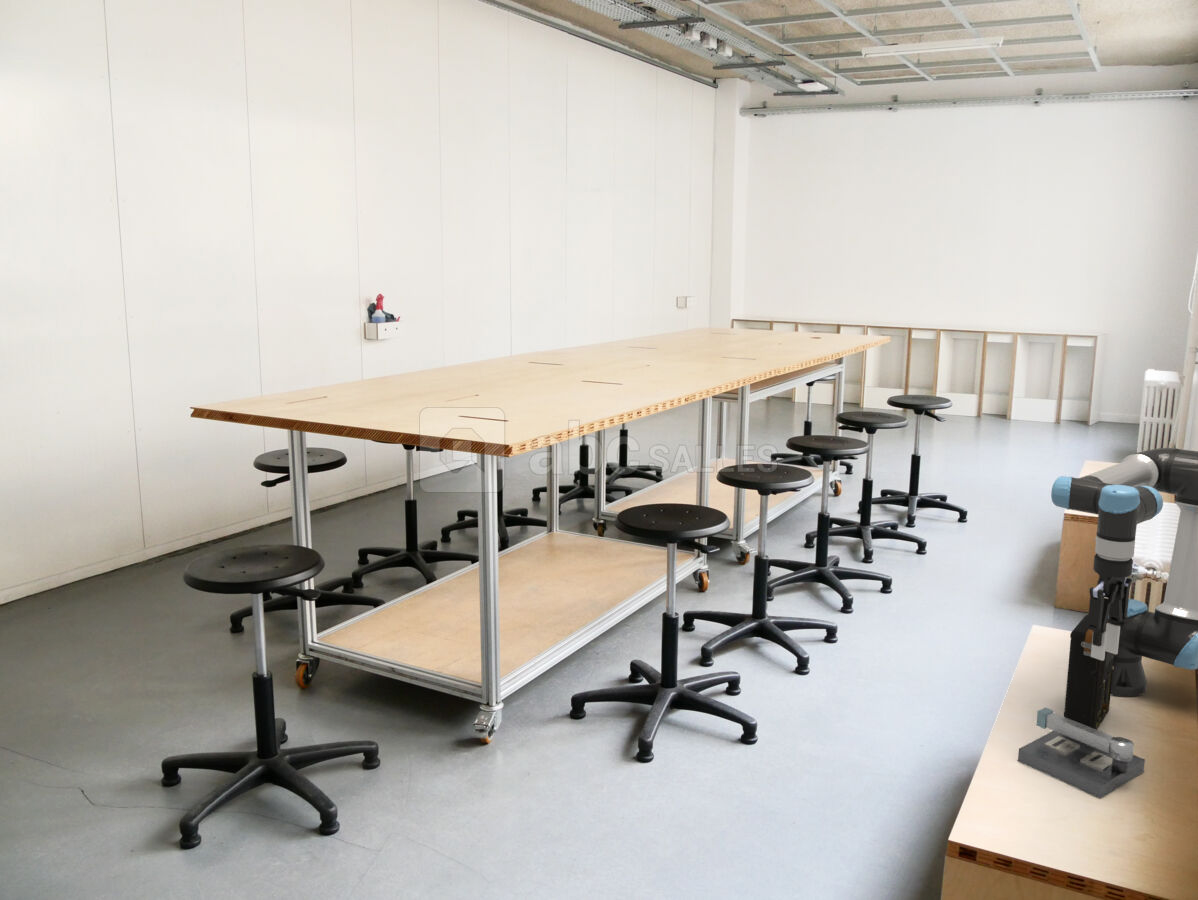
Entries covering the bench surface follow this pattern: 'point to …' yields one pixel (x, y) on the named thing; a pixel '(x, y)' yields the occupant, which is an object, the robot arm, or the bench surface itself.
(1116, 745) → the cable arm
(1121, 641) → the robot arm
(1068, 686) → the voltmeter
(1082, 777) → the grey slotted box
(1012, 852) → the bench surface
